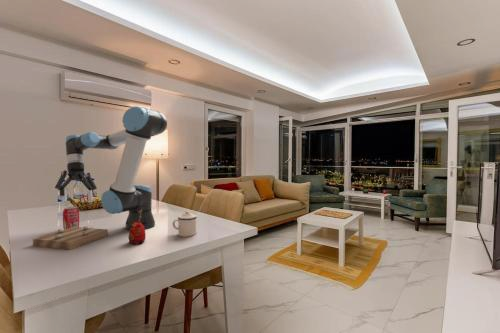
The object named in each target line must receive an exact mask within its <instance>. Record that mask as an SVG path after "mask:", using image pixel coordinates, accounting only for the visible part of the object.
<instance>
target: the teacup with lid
mask: <svg viewBox="0 0 500 333" xmlns="http://www.w3.org/2000/svg"><path fill="white" fill-rule="evenodd" d="M175 222H178V223H177V224H178V225H177V226H178V227H177V226H176V224H175ZM172 227H173V228H174V229H175V230H177V231H178V236H180V237H184V238H185V237H192V236H193V237H194V236H195V235H196V234H197V215H196V214H193V213H192V212H190V211H189V210H185V211H184V213H183V214H180V215H178V217H177V219H175V220H173V221H172Z"/></svg>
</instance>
